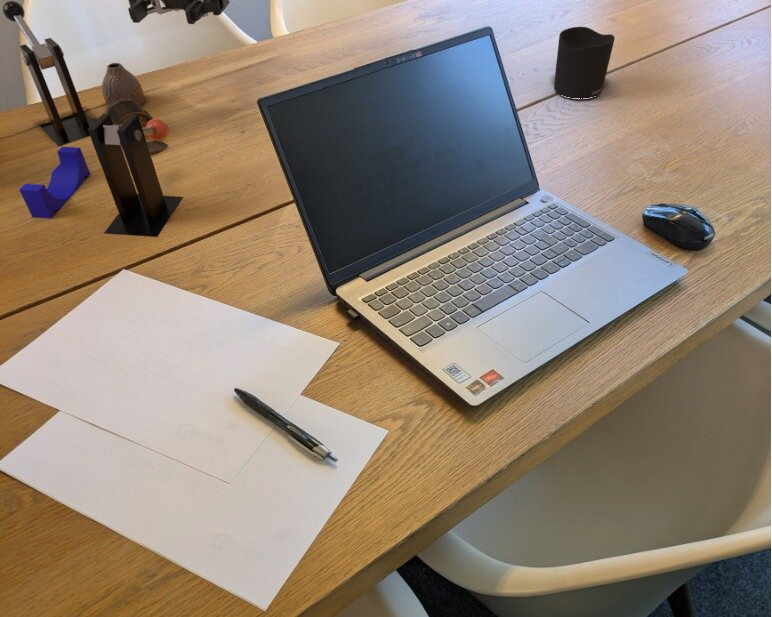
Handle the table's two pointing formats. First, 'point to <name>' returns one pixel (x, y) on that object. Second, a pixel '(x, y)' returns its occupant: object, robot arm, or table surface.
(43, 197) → the blue curved cradle
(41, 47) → the back lever
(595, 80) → the pen holder
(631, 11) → the table surface
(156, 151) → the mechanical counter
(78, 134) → the back bracket
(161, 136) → the front lever
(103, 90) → the vase
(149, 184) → the front bracket
